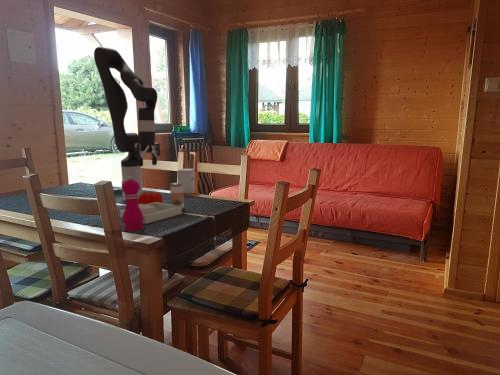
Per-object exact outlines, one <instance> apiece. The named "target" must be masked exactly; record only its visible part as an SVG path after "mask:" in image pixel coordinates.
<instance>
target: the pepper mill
mask: <svg viewBox="0 0 500 375" xmlns="http://www.w3.org/2000/svg"><path fill="white" fill-rule="evenodd" d="M127 179H128V180H127V181H125V182H124V183H123V184H122V183H121V192H122V191H123V192H124V193H125V194H124V198H125V200H126V201H125V211H124V214H123V218H121V219H122V223H123V224H124V227H123V228H124V231H128V232H131V231H139V230H141V229H143V228H144V225H143V223H142V222H143V220H144V218H143V214H142V212H141V210H140V208H139V206H138V197H139V196H138V193H137V192H138V191H139V188H140V186H139V183H138V182H137V181H135V180H132V179H133V177H132V176H128V177H127Z"/></svg>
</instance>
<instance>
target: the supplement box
mask: <svg viewBox="0 0 500 375" xmlns="http://www.w3.org/2000/svg"><path fill="white" fill-rule="evenodd" d="M177 183H183V194H192V193H194V192H195V191H196V178H195V168H181V169H178V170H177Z"/></svg>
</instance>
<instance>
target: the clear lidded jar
mask: <svg viewBox="0 0 500 375" xmlns="http://www.w3.org/2000/svg"><path fill="white" fill-rule="evenodd" d="M169 191H170V192H169V193H170V205H176V206H181V208H182V210H184V209H185V203H184V202H185V201H184V193H183V183H178V182H171V183H169Z"/></svg>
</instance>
